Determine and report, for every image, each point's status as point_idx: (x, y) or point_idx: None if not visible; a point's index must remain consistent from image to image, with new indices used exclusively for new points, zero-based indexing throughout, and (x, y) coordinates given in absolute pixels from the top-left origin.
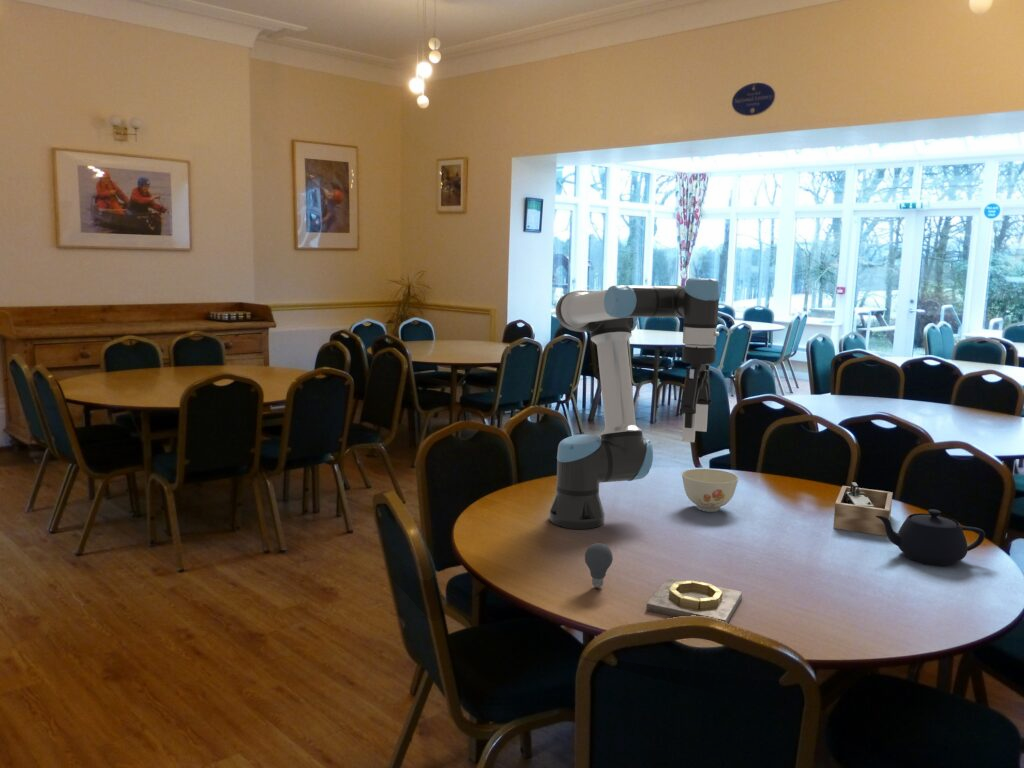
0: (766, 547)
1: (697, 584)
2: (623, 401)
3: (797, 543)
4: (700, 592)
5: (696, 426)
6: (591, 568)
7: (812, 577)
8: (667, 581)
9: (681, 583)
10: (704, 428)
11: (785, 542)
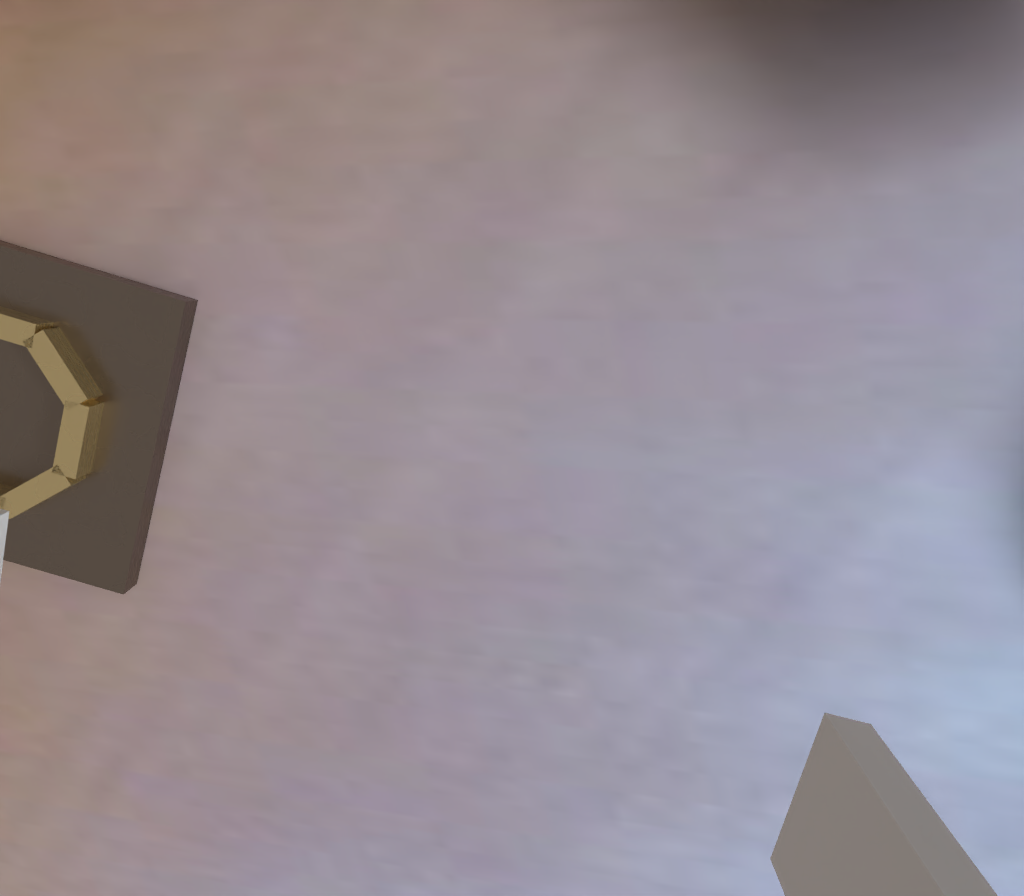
0: (757, 745)
1: (63, 423)
2: None
3: None
4: (57, 431)
5: (843, 772)
6: None
7: (433, 861)
8: (134, 294)
9: (37, 355)
10: (790, 870)
11: None
